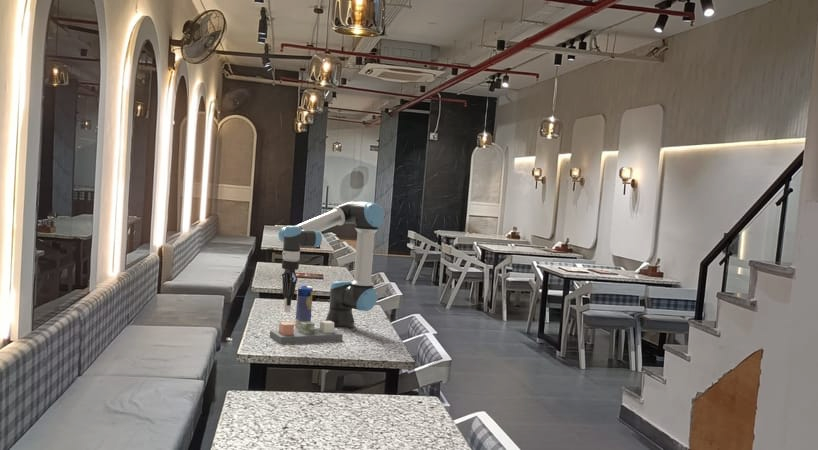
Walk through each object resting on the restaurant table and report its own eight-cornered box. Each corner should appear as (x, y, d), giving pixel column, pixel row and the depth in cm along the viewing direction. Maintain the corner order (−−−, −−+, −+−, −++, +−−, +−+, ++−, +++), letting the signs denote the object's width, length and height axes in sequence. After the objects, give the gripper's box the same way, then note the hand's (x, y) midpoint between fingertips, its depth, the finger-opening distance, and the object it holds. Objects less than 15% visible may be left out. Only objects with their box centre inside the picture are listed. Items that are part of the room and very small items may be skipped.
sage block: (309, 332, 332) (310, 321, 332) (313, 334, 328) (314, 323, 328) (299, 332, 330) (300, 321, 329) (303, 334, 325) (304, 324, 325)
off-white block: (329, 331, 337) (330, 320, 337) (333, 333, 333) (334, 322, 333) (319, 331, 335) (320, 321, 335) (323, 333, 331) (324, 323, 330)
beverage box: (308, 330, 352) (311, 286, 351) (309, 335, 341) (312, 289, 340) (294, 329, 351) (297, 285, 350) (295, 334, 340) (298, 288, 339)
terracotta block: (289, 333, 327) (289, 322, 327) (293, 335, 323) (293, 324, 323) (278, 333, 325) (279, 322, 324) (282, 335, 320) (283, 324, 320)
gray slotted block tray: (329, 336, 343) (330, 327, 342) (342, 342, 331) (342, 334, 330) (269, 339, 327) (270, 330, 327) (280, 346, 315) (281, 337, 315)
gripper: (277, 258, 325) (273, 309, 327) (288, 262, 314) (284, 315, 315) (293, 258, 329) (289, 309, 330) (304, 262, 318) (300, 314, 319)
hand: (286, 312), depth 323 cm, fingers closed
